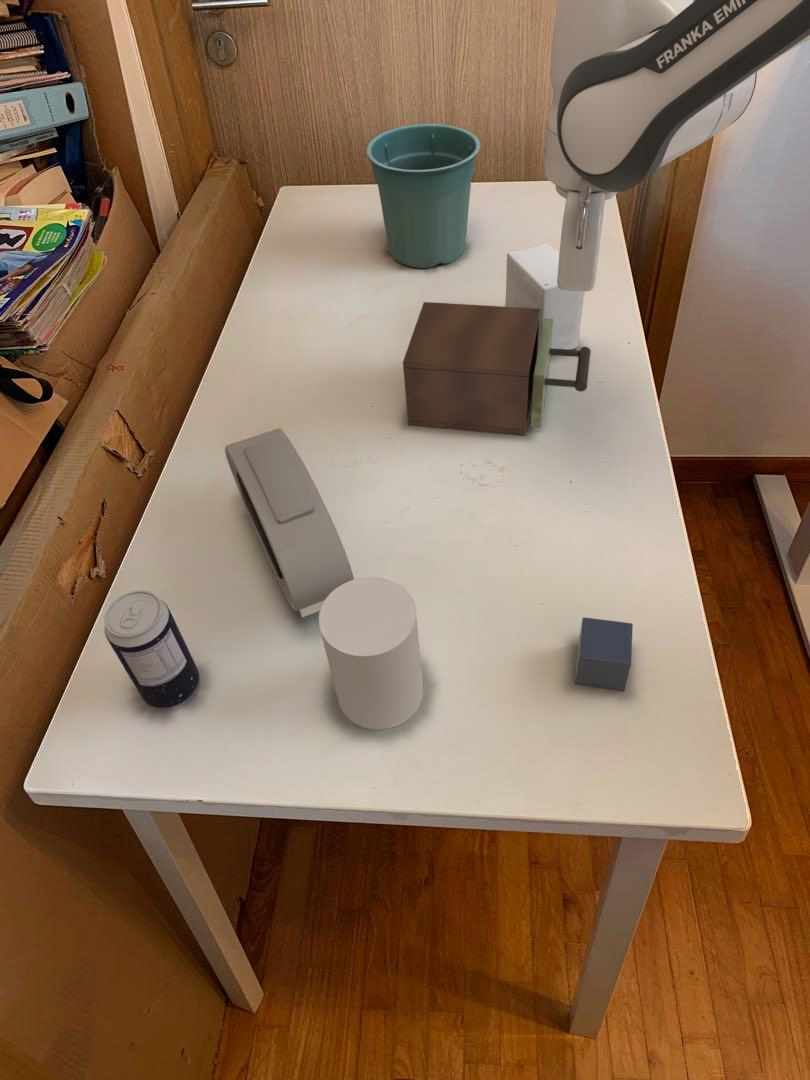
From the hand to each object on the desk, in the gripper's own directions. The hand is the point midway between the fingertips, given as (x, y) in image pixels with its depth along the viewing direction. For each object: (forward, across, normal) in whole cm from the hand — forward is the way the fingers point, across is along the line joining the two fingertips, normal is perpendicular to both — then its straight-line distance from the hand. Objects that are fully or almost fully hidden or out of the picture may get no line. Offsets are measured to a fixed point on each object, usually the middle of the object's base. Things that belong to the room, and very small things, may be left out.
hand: (577, 282), depth 90 cm
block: (+17, -38, -6) cm, 42 cm away
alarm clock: (+18, -29, +26) cm, 43 cm away
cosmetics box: (+18, +15, +4) cm, 23 cm away
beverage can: (+17, -47, +34) cm, 60 cm away
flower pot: (+18, +36, +24) cm, 47 cm away
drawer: (+16, 0, +7) cm, 18 cm away
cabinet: (+17, 0, +12) cm, 21 cm away
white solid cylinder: (+17, -44, +14) cm, 49 cm away
